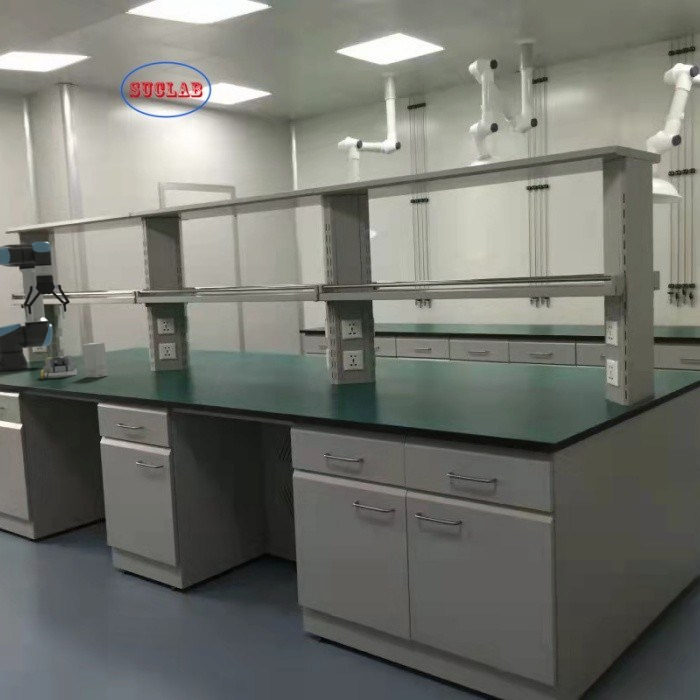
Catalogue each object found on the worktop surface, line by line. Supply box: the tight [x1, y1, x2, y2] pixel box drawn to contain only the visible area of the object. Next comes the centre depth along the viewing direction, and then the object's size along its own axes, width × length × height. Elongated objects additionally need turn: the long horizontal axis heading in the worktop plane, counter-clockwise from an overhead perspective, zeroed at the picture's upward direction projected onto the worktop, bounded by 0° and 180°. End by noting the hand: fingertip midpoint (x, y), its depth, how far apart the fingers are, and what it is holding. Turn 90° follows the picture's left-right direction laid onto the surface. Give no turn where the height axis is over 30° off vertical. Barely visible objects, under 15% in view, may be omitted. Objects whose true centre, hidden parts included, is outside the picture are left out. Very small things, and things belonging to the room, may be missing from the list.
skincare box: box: [82, 342, 109, 379], centre depth 352 cm, size 8×7×16 cm
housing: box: [44, 355, 78, 379], centre depth 361 cm, size 15×15×9 cm
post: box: [40, 369, 46, 380], centre depth 354 cm, size 2×2×4 cm
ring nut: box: [43, 355, 77, 372], centre depth 361 cm, size 14×14×6 cm
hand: (48, 319), depth 361 cm, fingers open, 13 cm apart
